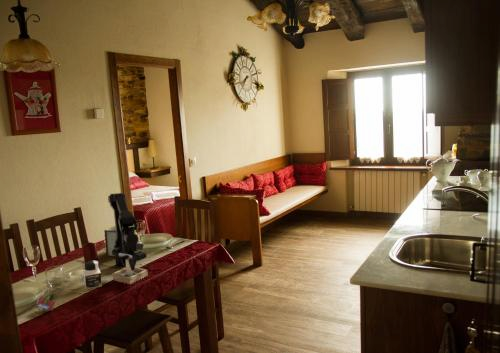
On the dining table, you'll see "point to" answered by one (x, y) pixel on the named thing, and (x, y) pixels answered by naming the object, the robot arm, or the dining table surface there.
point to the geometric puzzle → (45, 303)
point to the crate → (122, 277)
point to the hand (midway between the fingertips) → (129, 269)
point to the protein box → (111, 239)
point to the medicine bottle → (92, 275)
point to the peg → (129, 269)
